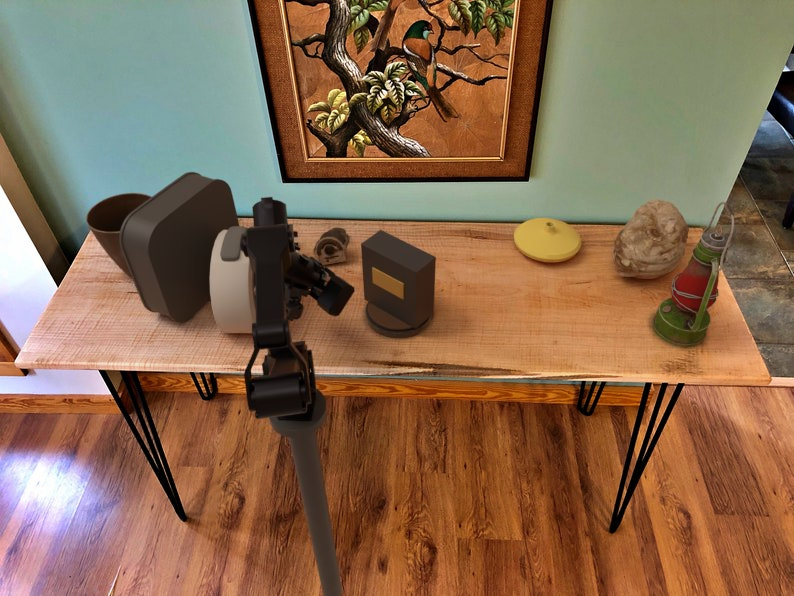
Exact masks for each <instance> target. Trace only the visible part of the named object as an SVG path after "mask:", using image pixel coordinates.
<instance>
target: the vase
mask: <svg viewBox="0 0 794 596" xmlns="http://www.w3.org/2000/svg"><path fill="white" fill-rule="evenodd" d="M513 241H514V245H515V247H516V249H517V250H519V251H520V253H521V254H523V255H524V256H527V257H528V258H530V259H532V260H535V261H538V262H543V263H559V262H560V263H561V262H565V261H567V260H569V259H571V258H573V257H575V255H576V254H577V253H578V252H579V250H581V248H582V247H581V246H582V239H581V236H580V234H579V233H578V231H577V230H576V229H575V228H574V227H573V226H572V225H570V224H569V223H567V222H564V221H562V220H559V219H556V218H551V217H536V218H531V219H528V220H525V221H524V222H522V223H521V224H519V225H518V226H517V227H516V228H515V229H514V232H513Z"/></svg>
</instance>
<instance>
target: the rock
mask: <svg viewBox="0 0 794 596" xmlns="http://www.w3.org/2000/svg"><path fill="white" fill-rule="evenodd" d="M689 232H690V228H689V224H688V223H687V222H686V220H685V218H684V216H683V214H682V213H681V212H680V211H679V209H678V207H677V206H675V205H674V203H672V202H670V201H665V200H661V199H653V200H649V201H647V202H646V203H644V204H642V205H640V207H638V208H637V209H636V210H635V212H634V214H633V215H632V216H631V218H630V219H629V220H628V222H627V223H626V224H625V225H624V226H623V227H622V228H621V229H620V231H619V232H618V233H617V234H616V237H615V240H614V243H613V245H612V247H613V248H612V255H613V261H614V266H615V271H616V272H617V273H618V274H619V276H620V277H624V278H631V277H633V278H634V279H639V280H642V279H646V280H651V279H653V280H654V279H656V278H659V277H661V276H664V275H666V274H669V273H671V272H672V271H673V270H675V269H676V268H677V267H678V265H679V264H681V261H682V259H683V257H684V256H685V252H686V246H687V242H688V238H689Z"/></svg>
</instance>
